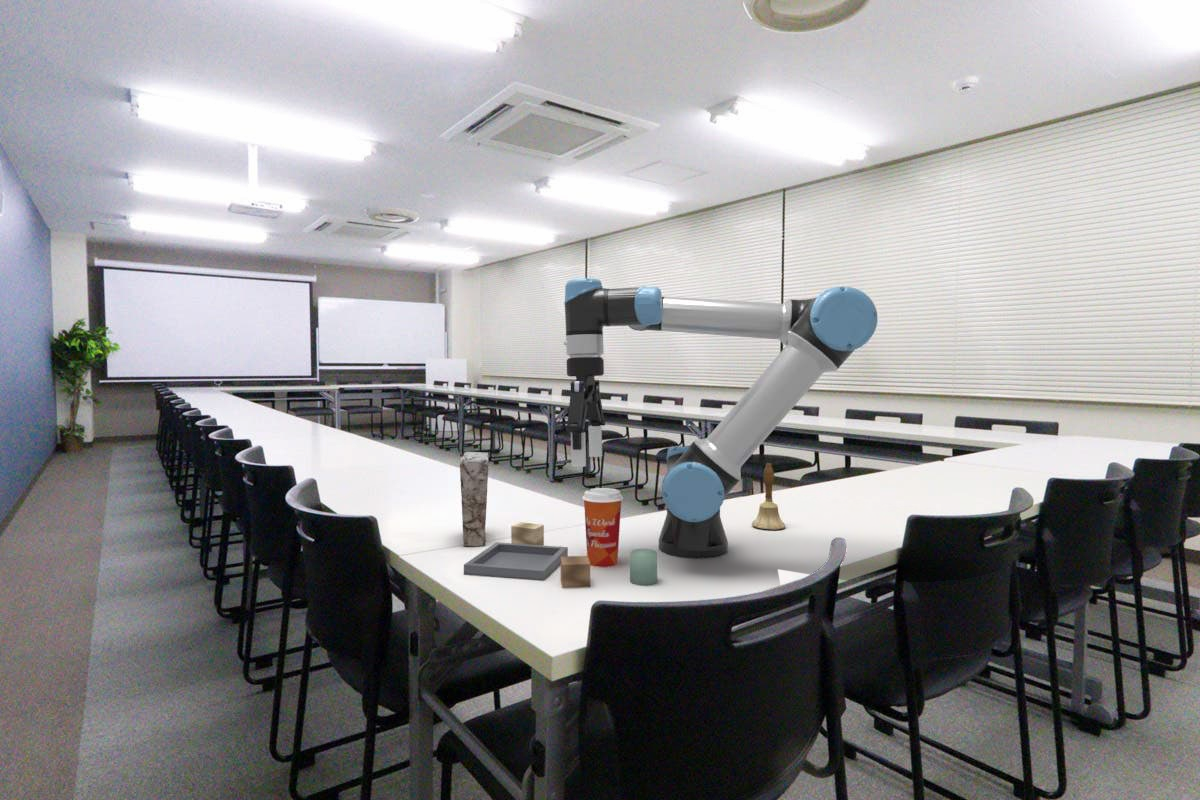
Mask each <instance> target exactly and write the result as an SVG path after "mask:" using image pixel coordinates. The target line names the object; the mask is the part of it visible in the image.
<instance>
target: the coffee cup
mask: <svg viewBox="0 0 1200 800" xmlns="http://www.w3.org/2000/svg"><path fill="white" fill-rule="evenodd" d="M581 499H582V500H583V502H584V521H585V522H584V524H585V541H586V544H585V545H586V556H588V559H589V562H590V566H592V567H596V566H599V567H598V568H606V567H607V568H608V566H609V567H614V566H616V565H617V564H618V560H619V559H618V557H619V544H620V543H619V542H620V541H619V540H620V525H621V509H622V501H624V497H623V496H622V493H621V490H619V489H616V488H612V487H611V488H608V487H596V488H589V489H587V490H585V491H584V494H583V495H582V498H581Z"/></svg>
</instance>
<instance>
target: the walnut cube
mask: <svg viewBox="0 0 1200 800" xmlns="http://www.w3.org/2000/svg"><path fill="white" fill-rule="evenodd" d="M560 582H561V588H562V589H571V588H573V589H574V588H576V589H577V588H591V565H590V562H589V559H588V556H587V555H571V556H570V555H569V556H563V557H561V565H560Z"/></svg>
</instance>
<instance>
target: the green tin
mask: <svg viewBox="0 0 1200 800" xmlns="http://www.w3.org/2000/svg"><path fill="white" fill-rule="evenodd" d="M629 581H630V583H631V584H633V585H636V586H645V587H647V586H653V585H655V584H657V583H658V552H657V551H656V550H654V549H649V548H635V549H632V550H631V551H630V552H629Z"/></svg>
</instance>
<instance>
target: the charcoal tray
mask: <svg viewBox="0 0 1200 800" xmlns="http://www.w3.org/2000/svg"><path fill="white" fill-rule="evenodd" d="M568 549H569V548H568V546H557V545H544V546H543V545H529V544H514V543H510V542H497V541H495V542H494V543H493V544H491V545H490V546H489V547H487V548H485V550H483V551H481V552H480V553H479V554H476V556H474V557H473V558H471V559H470V560H469V561H467V562H465V563H464V564H463V575H464V576H477V577H489V578H490V577H491V578H503V579H517V580H531V581H542V582H543V581H545V580H546V579H547V578H549V576H550V575H551V574H552V573H554V572H555V571H556V569H558V567H559V566H561V565H560V564H561V557H563V556H568V555H569V554H568V553H569V552H568V551H569V550H568Z"/></svg>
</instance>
